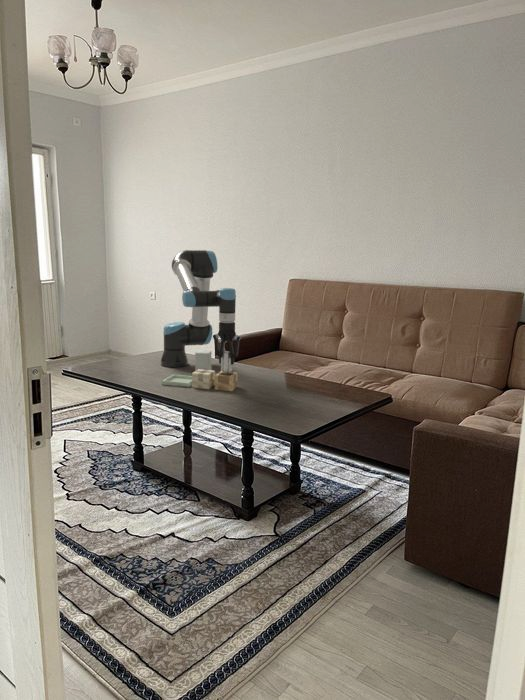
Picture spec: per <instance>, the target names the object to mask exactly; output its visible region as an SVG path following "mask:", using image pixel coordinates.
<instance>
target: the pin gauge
mask: <svg viewBox="0 0 525 700" xmlns="http://www.w3.org/2000/svg"><path fill="white" fill-rule="evenodd" d="M229 358H230V350H229V351H228V350H224V352H223V375H228V376H230V372H229Z"/></svg>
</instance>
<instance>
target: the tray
mask: <svg viewBox="0 0 525 700" xmlns="http://www.w3.org/2000/svg"><path fill="white" fill-rule="evenodd" d="M161 386H170V387H171V386H172V387H181V388H189V387H192V375H182V374H171V375H170V376H168V377H165V379H162V380H161Z"/></svg>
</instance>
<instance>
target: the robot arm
mask: <svg viewBox="0 0 525 700" xmlns="http://www.w3.org/2000/svg"><path fill="white" fill-rule="evenodd" d="M171 268H172V269H171V270H172V272H173V274H174V275H176V276H177V279H178V281H179V284H180V286H181V288H182V291H183V292H182V294H181V295H182V297H181V300H182V305H183V306H184V307H185V308H192V309H191V310H192V311H191V319H190V320H189V321H188V324H185V322H183V321H177V322H171V323H167V324H165V325H164V326H163V332H162V333H163V353H162V356H161V359H160V366H162V367H167V368H181V367H182V368H183V367H185V366H188V365H189V359H188V356H187V353H186V348H185V347H187V346H205V345H206V346H207V345H208V344H210V343H211V341H212V339H213V343H214V355H215V356H217V357H218V361H219V362H218V363H219V364H220V371H223V352H224V351H225V347H226V346H225V344H226V342H227V344H228V349H229V352H230V358H229V372H233V365H234V364H235V358H236V357H238V356H239V352H240V351H239V350H240V341H241V339H242V336H241V335H238V334H237V332H236V297H237V295H236V289H234V288H231V287H222V288H220V289H217V290H210V286H211V285H210V284H211V279H212V278H213V277H214V274H216V273H217V272H218V260H217V256H216V253H215V252H214V251H213V250H206V249H204V250H203V249H201V250H200V249H199V250H193V249H191V250H190V249H189V250H188V249H185V250H181V251H180V252H178V253H177V254H175V256H174V257H173V259H172V261H171ZM209 307H211V308H215V307H218V320H219V322H218V333H216V334H213V326H212V324H210V321H209V320H208V313H209ZM219 338H220V343H219ZM234 340H235V341H234ZM233 342H235V343H233Z"/></svg>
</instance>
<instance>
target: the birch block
mask: <svg viewBox="0 0 525 700" xmlns="http://www.w3.org/2000/svg"><path fill="white" fill-rule="evenodd" d="M215 375H216V370H213V369H211V370H202V369H198V370H196V371H195V370H194V371H193V372H192V373H191V376H192V385H191V388H195V389H196V388H197V389H205V390H210V389H211V388H212V387H215Z"/></svg>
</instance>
